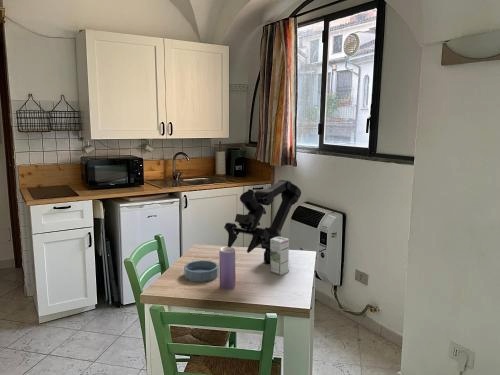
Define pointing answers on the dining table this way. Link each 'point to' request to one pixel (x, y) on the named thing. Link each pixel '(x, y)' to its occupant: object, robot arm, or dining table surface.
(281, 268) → the syrup box
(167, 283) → the dining table surface
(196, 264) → the bowl
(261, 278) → the dining table surface
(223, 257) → the beverage can
